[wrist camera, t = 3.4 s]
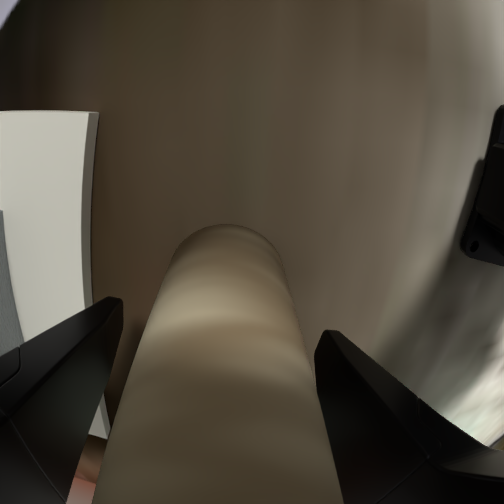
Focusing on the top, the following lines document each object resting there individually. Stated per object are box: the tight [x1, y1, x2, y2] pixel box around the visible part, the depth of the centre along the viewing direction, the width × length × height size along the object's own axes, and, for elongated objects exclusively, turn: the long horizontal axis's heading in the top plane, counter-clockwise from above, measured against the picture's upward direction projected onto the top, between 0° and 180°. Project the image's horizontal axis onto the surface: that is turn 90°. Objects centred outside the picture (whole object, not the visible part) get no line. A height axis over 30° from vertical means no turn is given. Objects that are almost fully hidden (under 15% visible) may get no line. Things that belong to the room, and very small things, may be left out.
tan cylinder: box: [92, 224, 344, 504], centre depth 7 cm, size 4×4×10 cm
